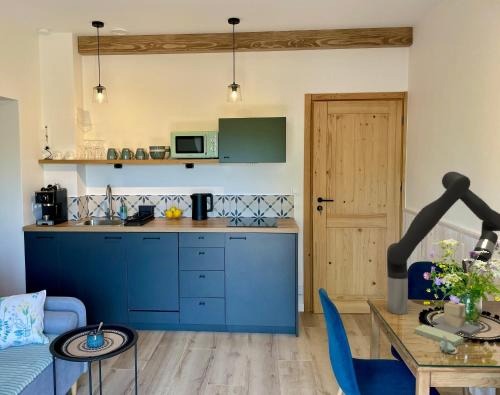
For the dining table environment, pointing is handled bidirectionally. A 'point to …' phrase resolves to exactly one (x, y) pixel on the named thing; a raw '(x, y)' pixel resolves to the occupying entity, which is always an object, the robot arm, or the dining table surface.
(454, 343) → the trap deck
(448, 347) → the pacifier
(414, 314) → the dining table surface
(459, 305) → the birch block
